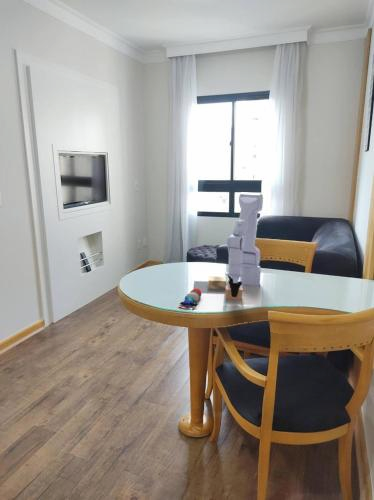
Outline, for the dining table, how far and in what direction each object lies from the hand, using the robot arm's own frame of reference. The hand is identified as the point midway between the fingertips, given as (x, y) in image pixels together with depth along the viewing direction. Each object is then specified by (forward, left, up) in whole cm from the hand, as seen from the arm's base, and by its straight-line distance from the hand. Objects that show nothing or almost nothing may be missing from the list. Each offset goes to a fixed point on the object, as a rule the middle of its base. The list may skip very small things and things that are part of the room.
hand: (233, 293), depth 156 cm
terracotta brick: (0, 0, -3) cm, 3 cm away
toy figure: (+18, +6, -3) cm, 19 cm away
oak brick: (+7, -13, -2) cm, 15 cm away
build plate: (+8, -12, -2) cm, 15 cm away
